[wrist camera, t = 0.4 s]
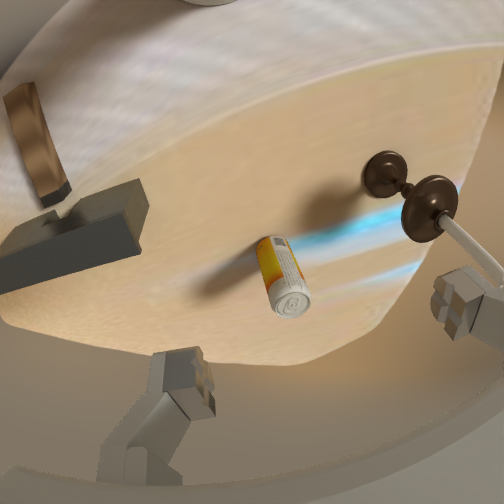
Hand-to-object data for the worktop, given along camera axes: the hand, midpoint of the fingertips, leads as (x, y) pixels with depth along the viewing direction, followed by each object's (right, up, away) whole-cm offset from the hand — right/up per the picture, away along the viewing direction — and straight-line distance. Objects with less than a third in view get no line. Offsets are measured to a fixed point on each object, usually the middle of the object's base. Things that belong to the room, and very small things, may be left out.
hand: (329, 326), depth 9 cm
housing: (-33, +8, +35) cm, 49 cm away
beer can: (+1, +3, +45) cm, 46 cm away
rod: (-36, +20, +26) cm, 49 cm away
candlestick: (+22, +17, +40) cm, 48 cm away
